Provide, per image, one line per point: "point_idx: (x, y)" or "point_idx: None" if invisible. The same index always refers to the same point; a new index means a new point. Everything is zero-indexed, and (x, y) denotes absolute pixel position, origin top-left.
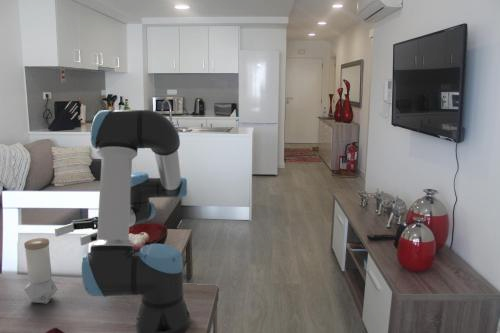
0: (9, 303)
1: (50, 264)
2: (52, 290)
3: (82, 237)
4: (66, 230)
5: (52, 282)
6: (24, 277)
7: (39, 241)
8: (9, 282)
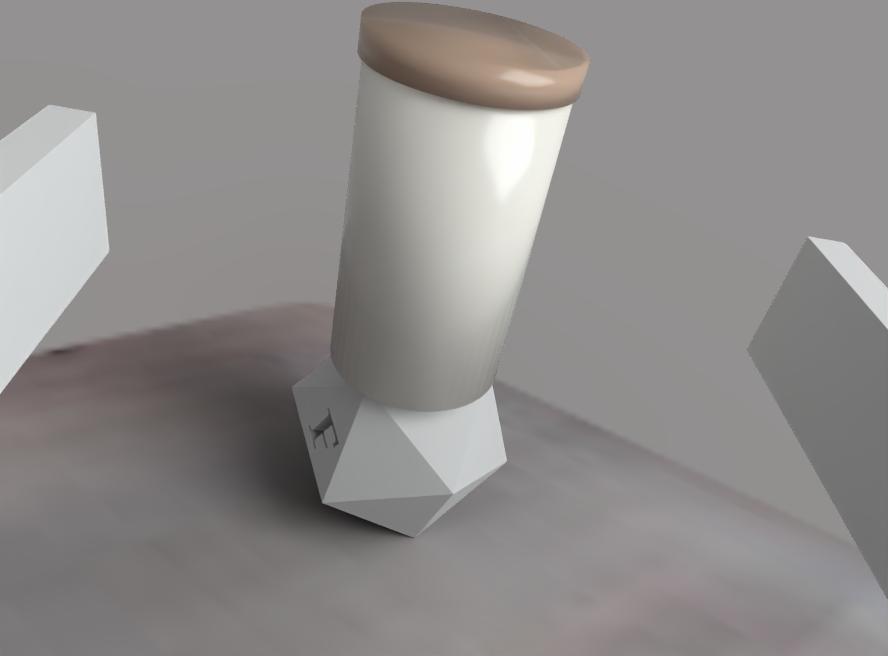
0: (521, 408)
1: (366, 287)
2: (304, 433)
3: (41, 113)
4: (853, 438)
5: (343, 424)
6: (847, 641)
7: (474, 40)
8: (813, 546)
